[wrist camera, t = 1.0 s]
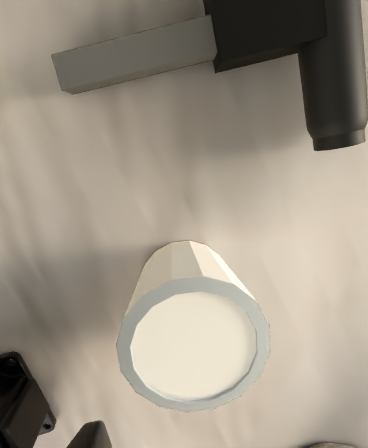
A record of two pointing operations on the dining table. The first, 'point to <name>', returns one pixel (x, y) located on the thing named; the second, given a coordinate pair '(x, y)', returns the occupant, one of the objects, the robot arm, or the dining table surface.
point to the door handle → (248, 56)
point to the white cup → (191, 331)
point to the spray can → (330, 445)
